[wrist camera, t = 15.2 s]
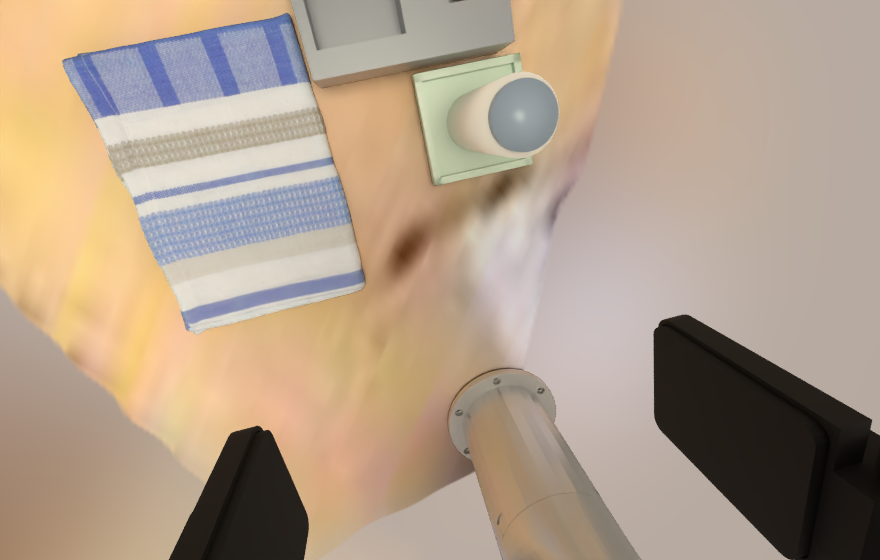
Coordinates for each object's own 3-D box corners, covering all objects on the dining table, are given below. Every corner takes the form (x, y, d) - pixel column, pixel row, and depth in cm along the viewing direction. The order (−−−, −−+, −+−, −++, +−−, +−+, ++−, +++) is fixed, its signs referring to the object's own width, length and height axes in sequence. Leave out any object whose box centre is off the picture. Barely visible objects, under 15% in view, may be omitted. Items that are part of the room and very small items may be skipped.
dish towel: (193, 328, 39) (180, 342, 37) (69, 55, 31) (41, 48, 28) (370, 287, 41) (370, 298, 38) (298, 16, 32) (291, 5, 30)
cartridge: (504, 144, 37) (568, 150, 25) (452, 156, 36) (491, 166, 24) (496, 86, 35) (561, 61, 23) (442, 98, 34) (478, 78, 23)
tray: (525, 162, 38) (532, 164, 37) (432, 183, 38) (435, 185, 36) (513, 56, 35) (520, 52, 34) (411, 77, 34) (413, 74, 33)
